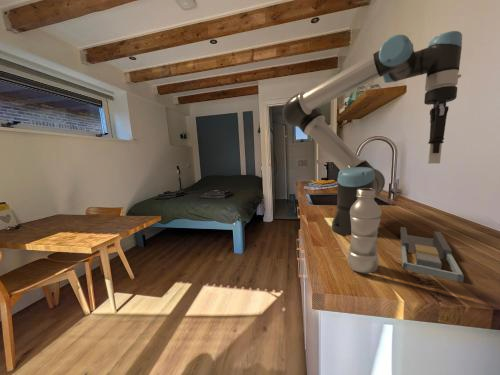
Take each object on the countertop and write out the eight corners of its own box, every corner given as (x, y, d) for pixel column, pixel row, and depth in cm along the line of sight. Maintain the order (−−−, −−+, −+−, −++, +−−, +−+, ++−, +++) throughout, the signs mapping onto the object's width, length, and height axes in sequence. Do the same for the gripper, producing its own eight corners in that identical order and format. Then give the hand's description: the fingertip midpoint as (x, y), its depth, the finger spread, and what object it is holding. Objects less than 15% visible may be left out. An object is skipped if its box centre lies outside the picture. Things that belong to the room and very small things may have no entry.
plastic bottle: (341, 264, 52) (344, 188, 49) (366, 262, 52) (370, 186, 50) (357, 278, 45) (360, 192, 43) (385, 276, 46) (390, 190, 43)
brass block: (415, 261, 51) (416, 250, 51) (413, 254, 54) (414, 244, 54) (437, 265, 49) (438, 254, 48) (434, 258, 52) (435, 247, 52)
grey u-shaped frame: (402, 271, 47) (403, 262, 47) (401, 253, 56) (401, 245, 56) (462, 286, 42) (463, 275, 41) (450, 263, 50) (451, 254, 50)
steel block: (416, 268, 48) (417, 258, 47) (414, 261, 51) (415, 251, 51) (440, 273, 45) (441, 263, 45) (437, 265, 49) (438, 255, 48)
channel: (401, 253, 56) (401, 242, 56) (399, 236, 68) (400, 226, 68) (450, 263, 50) (451, 250, 50) (439, 242, 63) (440, 232, 62)
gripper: (463, 79, 56) (454, 163, 59) (452, 91, 67) (445, 162, 70) (427, 86, 60) (421, 164, 64) (422, 96, 71) (417, 162, 74)
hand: (434, 163), depth 67 cm, fingers closed
